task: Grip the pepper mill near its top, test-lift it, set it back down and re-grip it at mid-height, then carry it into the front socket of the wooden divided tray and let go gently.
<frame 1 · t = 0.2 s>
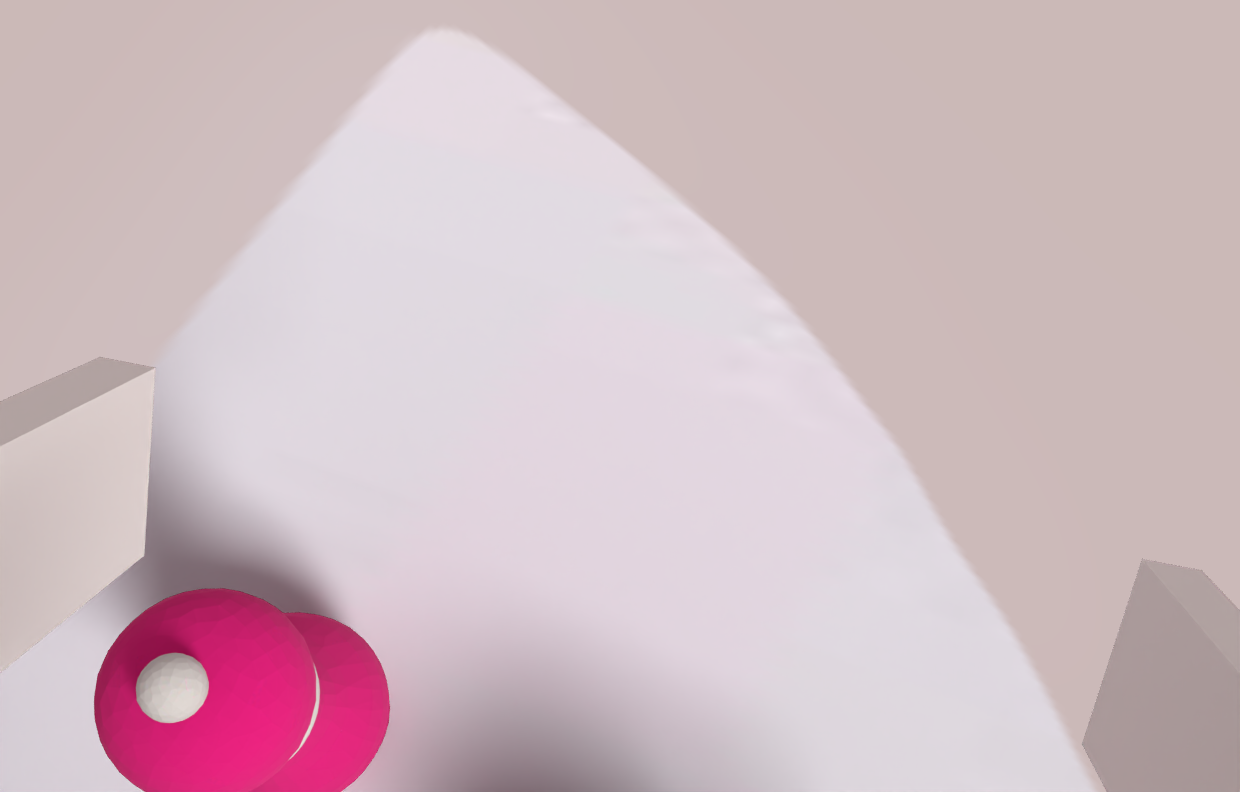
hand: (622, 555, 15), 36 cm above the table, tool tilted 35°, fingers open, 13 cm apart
pepper mill: (315, 712, 49), on the table
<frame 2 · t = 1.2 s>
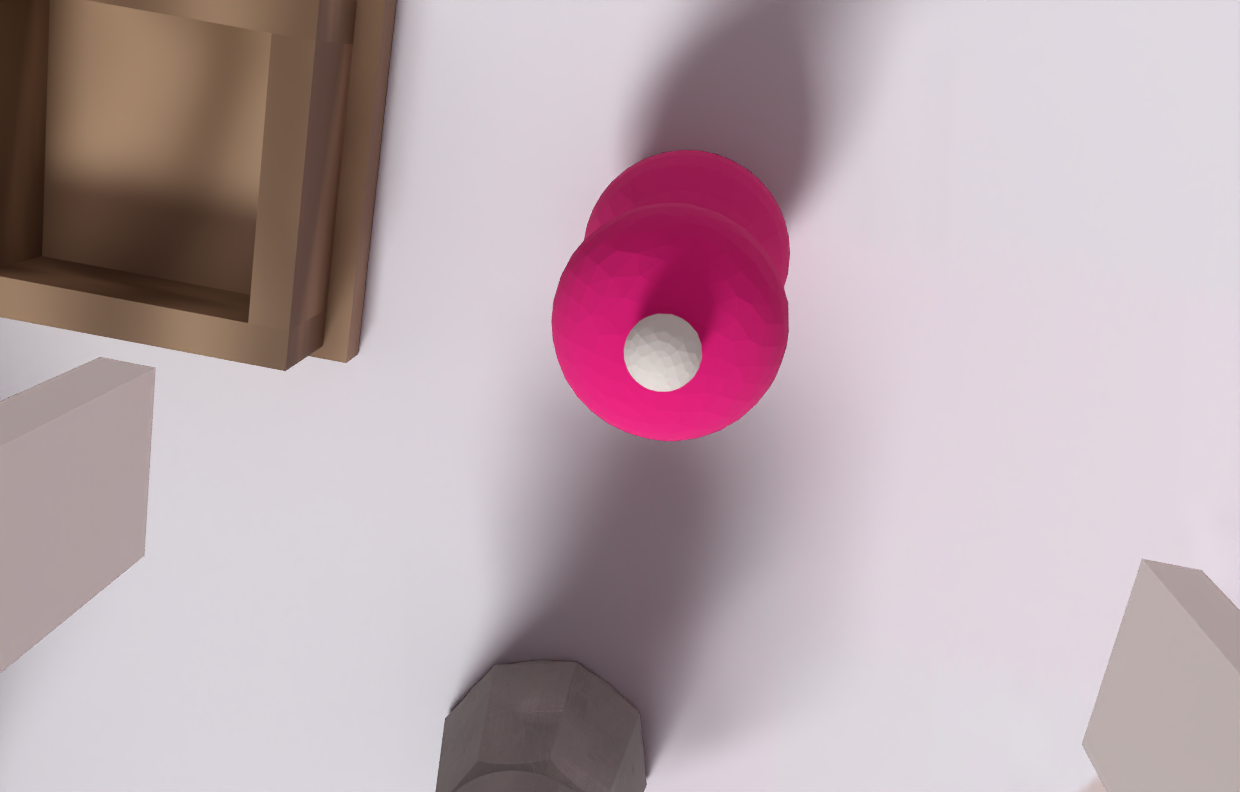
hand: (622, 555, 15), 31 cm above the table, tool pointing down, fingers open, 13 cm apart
wooden divided tray: (18, 116, 46), on the table
pepper mill: (689, 238, 45), on the table
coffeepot: (559, 764, 51), on the table
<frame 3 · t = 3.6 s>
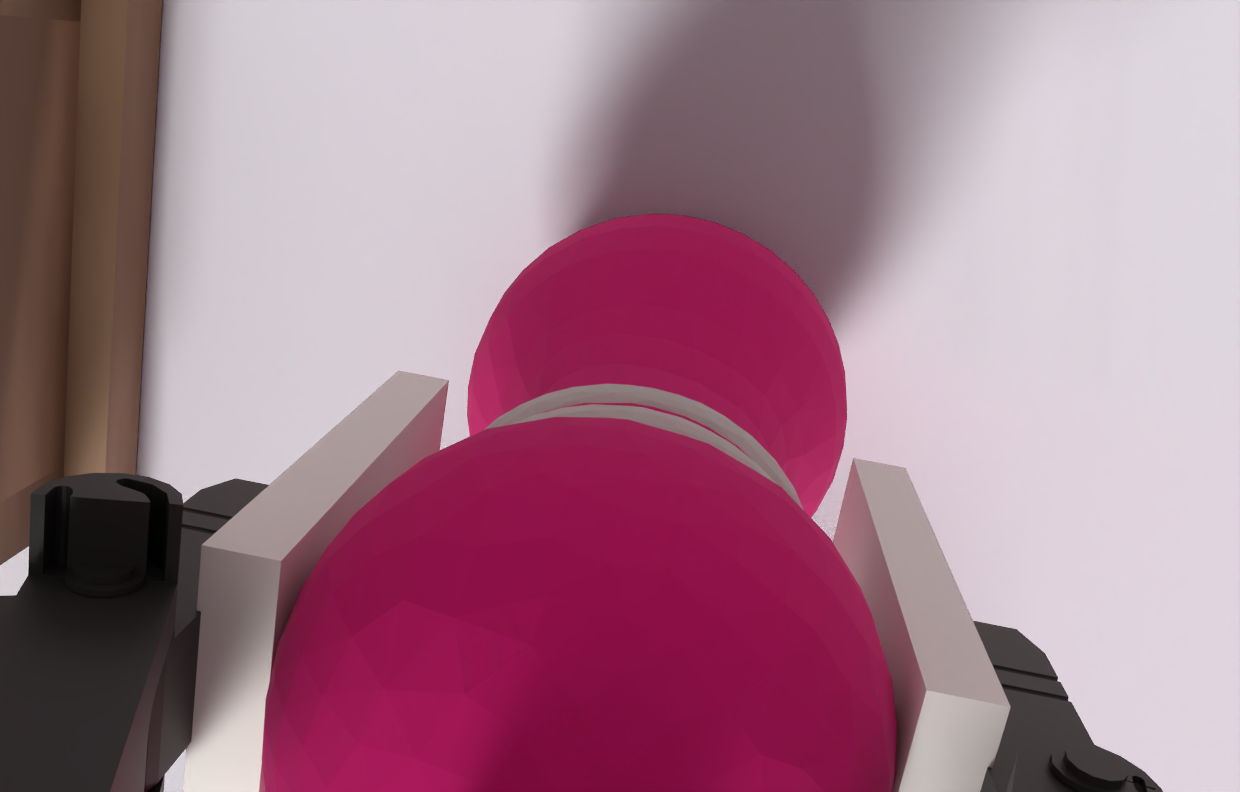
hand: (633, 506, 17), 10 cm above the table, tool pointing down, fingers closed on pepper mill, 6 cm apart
pepper mill: (669, 349, 27), on the table, touching gripper
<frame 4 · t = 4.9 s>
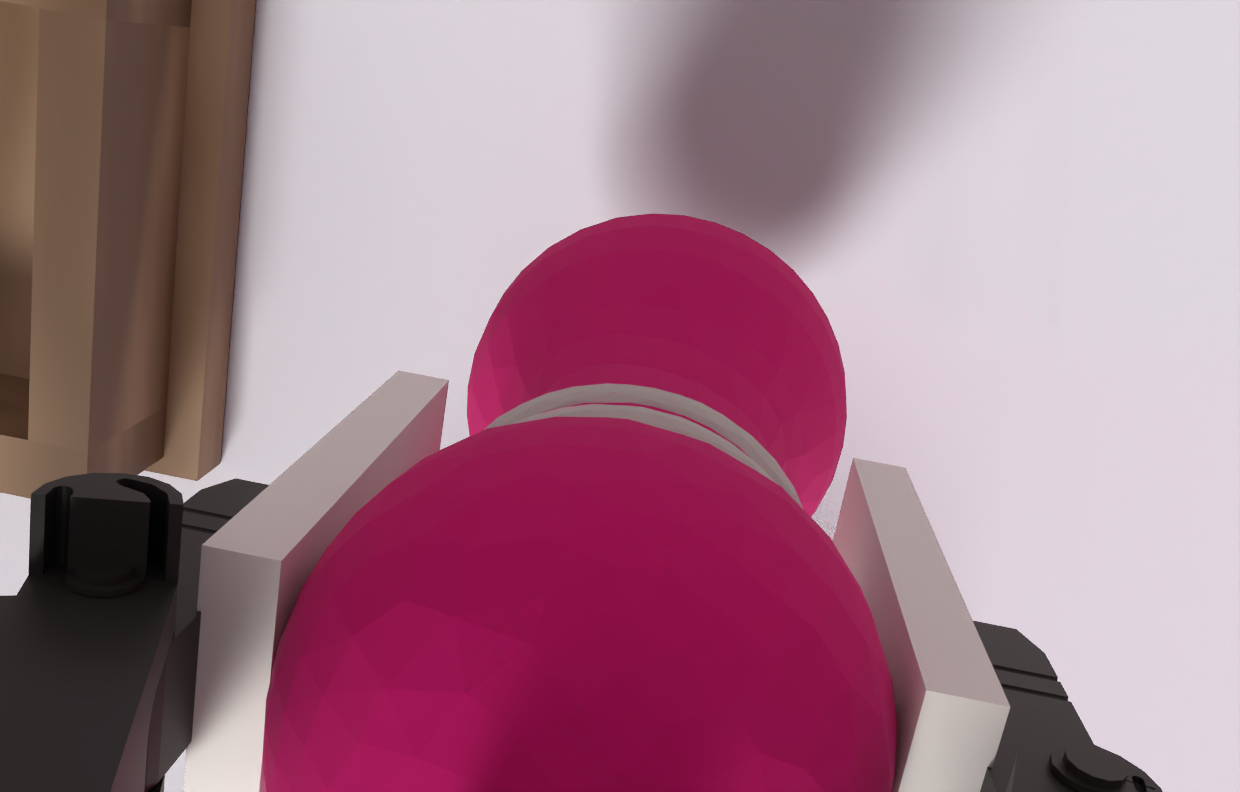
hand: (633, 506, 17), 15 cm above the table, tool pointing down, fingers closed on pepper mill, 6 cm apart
pepper mill: (669, 349, 27), point 5 cm above the table, touching gripper
when the fingers open (11 cm above the table, at t = 6.4 s): pepper mill stays where it is, on the table.
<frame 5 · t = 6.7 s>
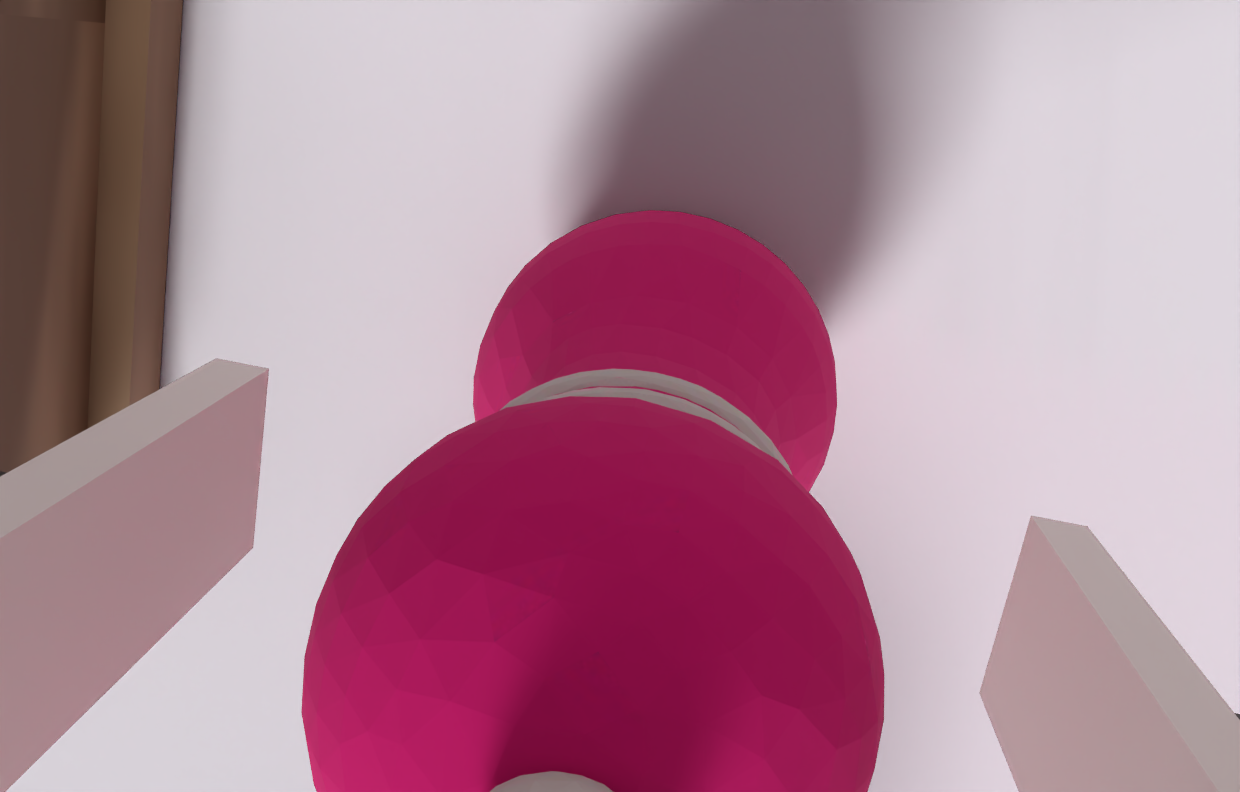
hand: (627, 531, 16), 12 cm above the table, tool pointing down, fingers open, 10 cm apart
pepper mill: (665, 341, 28), on the table
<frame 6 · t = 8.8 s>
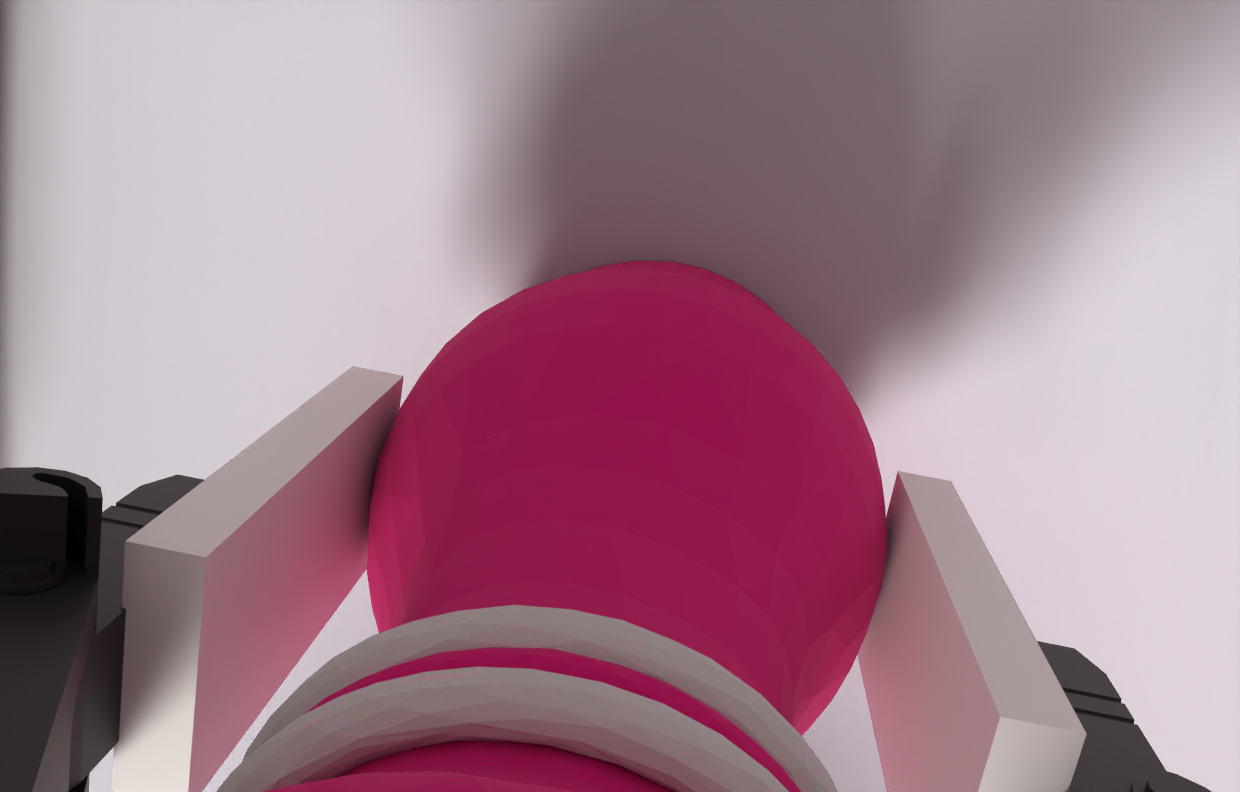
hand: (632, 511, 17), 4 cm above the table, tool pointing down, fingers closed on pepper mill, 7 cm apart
pepper mill: (650, 428, 21), on the table, touching gripper
when the fingers open (7 cm above the table, at t = 15.7 s): pepper mill drops 1 cm, resting on wooden divided tray.
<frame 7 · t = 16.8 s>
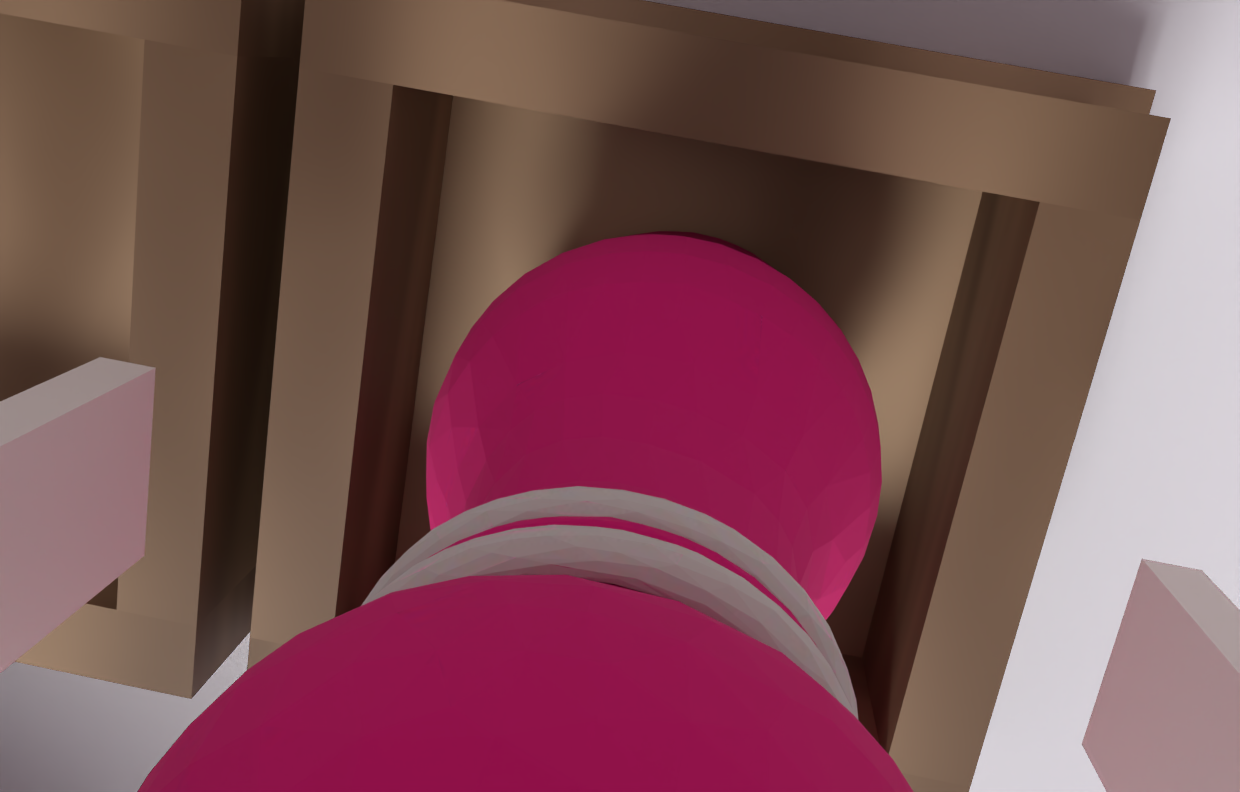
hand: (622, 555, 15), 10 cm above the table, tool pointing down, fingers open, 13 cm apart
wooden divided tray: (350, 303, 25), on the table
pepper mill: (670, 384, 23), point 1 cm above the table, touching wooden divided tray
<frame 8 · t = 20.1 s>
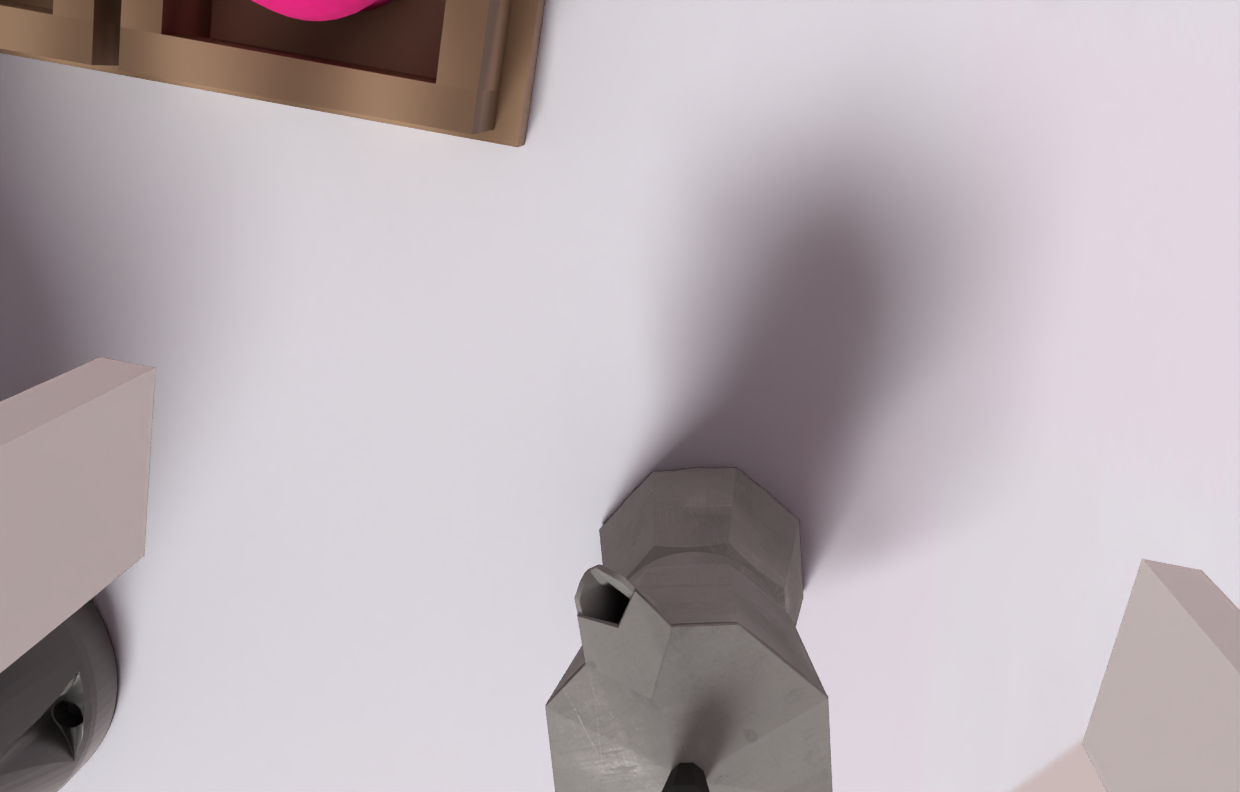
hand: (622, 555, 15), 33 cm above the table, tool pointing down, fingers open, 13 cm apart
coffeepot: (712, 579, 51), on the table
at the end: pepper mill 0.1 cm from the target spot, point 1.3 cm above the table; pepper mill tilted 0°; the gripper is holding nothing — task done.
